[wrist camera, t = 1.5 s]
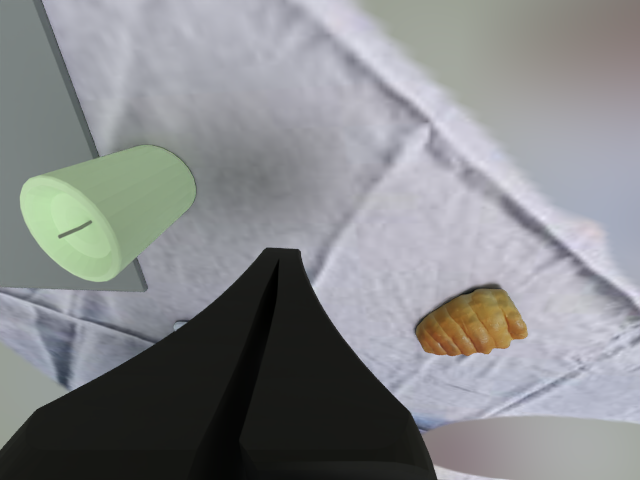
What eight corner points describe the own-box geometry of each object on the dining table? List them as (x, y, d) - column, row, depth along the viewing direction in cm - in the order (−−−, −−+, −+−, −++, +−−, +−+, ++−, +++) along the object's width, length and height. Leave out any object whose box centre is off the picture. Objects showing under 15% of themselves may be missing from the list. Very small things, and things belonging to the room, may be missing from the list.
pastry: (426, 349, 28) (441, 382, 25) (402, 315, 25) (416, 347, 22) (511, 316, 26) (540, 348, 22) (495, 274, 23) (526, 304, 20)
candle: (120, 200, 18) (-6, 269, 11) (121, 131, 16) (-38, 162, 8) (191, 223, 19) (119, 300, 12) (202, 162, 17) (121, 212, 10)
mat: (147, 288, 22) (144, 292, 22) (-9, 282, 21) (-16, 286, 21) (32, -24, 12) (21, -29, 11) (-276, -58, 11) (-299, -64, 11)
